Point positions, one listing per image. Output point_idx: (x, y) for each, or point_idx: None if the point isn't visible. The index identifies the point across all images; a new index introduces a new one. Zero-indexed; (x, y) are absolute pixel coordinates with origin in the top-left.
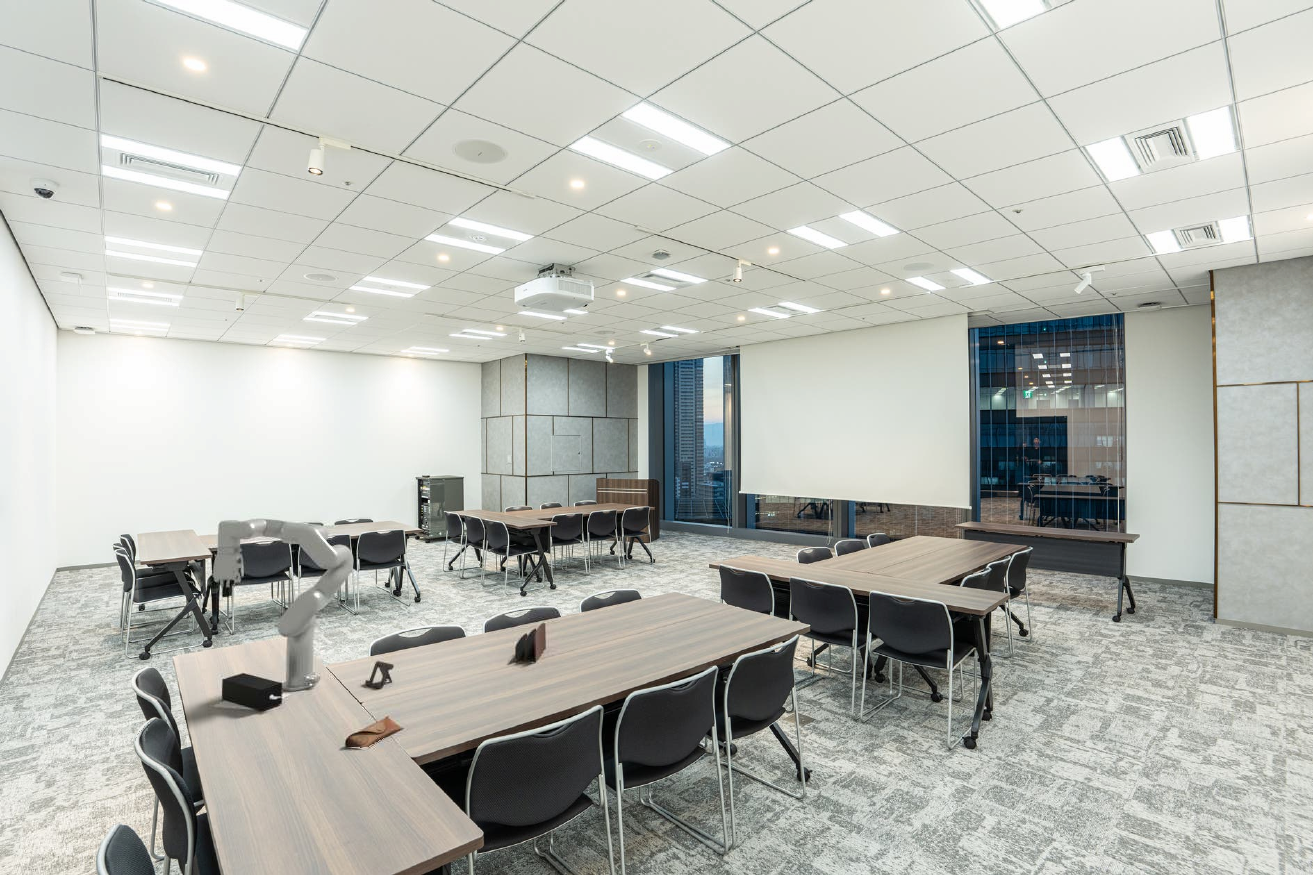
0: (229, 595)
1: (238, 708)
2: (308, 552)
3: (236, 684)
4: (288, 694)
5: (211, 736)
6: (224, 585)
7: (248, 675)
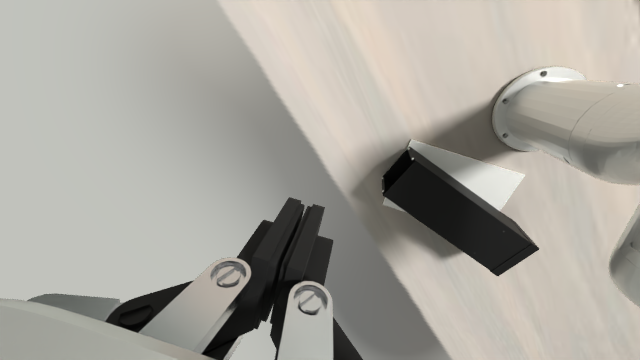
0: (318, 231)
1: None
2: None
3: (426, 225)
4: (520, 176)
5: (429, 304)
6: (243, 327)
7: (437, 182)
